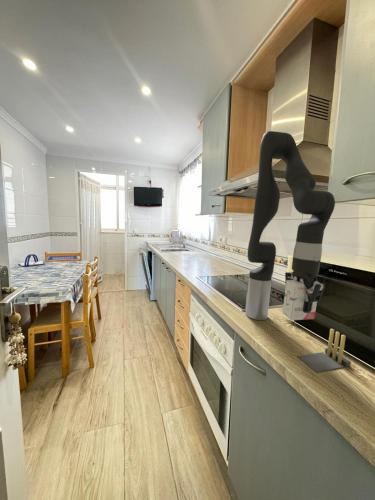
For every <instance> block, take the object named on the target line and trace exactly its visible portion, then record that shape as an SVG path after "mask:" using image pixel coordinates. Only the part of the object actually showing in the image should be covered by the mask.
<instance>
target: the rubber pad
mask: <svg viewBox="0 0 375 500" xmlns="http://www.w3.org/2000/svg"><path fill="white" fill-rule="evenodd" d="M297 358H299V360H301V361H302V362H303V363H304V364H305V365H306V366H308V367H309V368H310V369H311V370H313V371H314V372H316V373H322V372H326V371H327V372H328V371H332V370H333V371H334V370H338V369H344V366H343V365H342V364H341V365H340V364H339V363H337V361H334V360H333V359H332V357H329V356H327V354H326V353H325V352H322V351H321V352H316V353H310V354H309V353H308V354H303V355H302V354H301V355H297Z"/></svg>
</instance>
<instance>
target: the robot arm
mask: <svg viewBox="0 0 375 500" xmlns="http://www.w3.org/2000/svg"><path fill="white" fill-rule="evenodd" d="M300 153H301V152H300V151H299V149H298V145H297V143H296V141H295V139H294V136H292V134H290V133H288V132H281V131H273V130H268V131H266V132H264V133H263V136H262V138H261V140H260V145H259V153H258V154H259V157H258V158H259V159H258V173H257V174H258V176H257V177H258V178H257V185H256V194H255V199H254V209H253V218H252V225H251V229H250V230H251V231H250V236H249V241H248V244H247V245H248V246H247V255H246V256H247V260H248V262H249V263H254V264H261V265H260V266H259V267H257V268H254V269H251V270H250V271H249V274H248V286H247V287H248V288H247V292H246V299H245V310H244V312H245V315H246V317H248V318H250V319H253V320H257V321H265V320H267V319H268V318H269V317H268V315H269V308H270V307H269V306H270V296H271V285H272V279H273V274H274V271H275V270H274V267H275V262H276V258H277V257H276V255H277V248H276V247H277V246H276V244H275V243H274V242H271V241H261V237H262V234H263V232H264V230H265V229H266V228H267V226H268V225H269V223H270V222H271V221H272V220H273V219H274V217H275V216H276V215H277V213H278V212H279V211H278V210H279V205H280V198H281V192H280V189H279V186H278V185H279V184H277V181H276V179H275V176H274V173H273V160H281V161H282V162H284V163H285V165H286V166H285V169H284V174H283V175H284V179H285V182H286V184H287V185H288V187H289V189H290V190H291V193H292V194H291V195H292V201H293V206H294V208H295V209H296V211H297V212H298V213H300V214H301V215H311V216H310V218H309V220H308V221H306V222H302V223H299V225H298V226H297V230H296V231H297V233H296V240H295V245H294V248H293V254H292V255H293V256H292V261H291V262H292V263H291V270H292V271H291V272H288V271H287V272H286V271H285V273H284V274H285V275H284V276H285V277H284V278H285V279H284V281H285V285H286V281H287V280H294V281H299V282H300V283H302V284H304V290H303V293H304V297H305V301H304V306H303V312H304V313H309V312H311V310H312V304H313V302H317V303H318V302H319V303H320V301H321V299H322V296H323V294H324V291H325V289H326V284H325V283H320V282H319V281H318V279H317V275H318V274H319V272H320V267H321V261H322V255H323V253H322V252H323V239H324V234H325V233H324V232H325V230H326V227H327V226H328V223H329V222H330V218H331V217H332V214H333V212H334V210H335V206H336V199H335V196H334V195H333V193H331V192H330V191H327V190H314V189H315V187H316V185H317V184H316V183H317V182H316V179H315V177H314V176H313V174H312V173H311V171H310V170H309V169H308V167H307V166H306V164H305V163H304V161H303V159H302V155H301V154H300ZM311 288H312V290H311V291H307V289H311ZM309 293H310V297H309Z"/></svg>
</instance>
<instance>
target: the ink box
mask: <svg viewBox="0 0 375 500" xmlns="http://www.w3.org/2000/svg"><path fill="white" fill-rule="evenodd" d="M303 290H304V284H302V283H300V282H299V281H294V280H287V281H286V284H285V290H284V291H285V292H284V298H283V307H282V315H284V316H285V317H286V318H288V319H289V320H291V321H300V320H301V321H302V320H314V319H315V316H316V310H317V304H318V302H313V304H312V310H311V312H309V313H304V312H303V306H304V301H305V297H304V293H303ZM311 290H312V288H311V289H307V291H311ZM309 297H310V293H309Z"/></svg>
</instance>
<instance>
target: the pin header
mask: <svg viewBox="0 0 375 500" xmlns="http://www.w3.org/2000/svg"><path fill="white" fill-rule="evenodd" d="M334 334H335V335H334ZM333 341H334V343H333ZM339 341H340V344H339ZM345 343H346V335H345V334H341V335H340V332H339V331H335V329H333V328H330V329H329V337H328V343H327V347H326V348H325V349H324V354H326V355H327V356H329V357H330V358H332V359H333V360H334V361H336V362H337V363H339V364H340V365H342V366H343V367H345V368H350V367H351V364H352V362H351V361H350V360H349V359H347V358H346V357H345V356H344V349H345V345H346V344H345ZM332 348H333V349H332Z"/></svg>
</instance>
